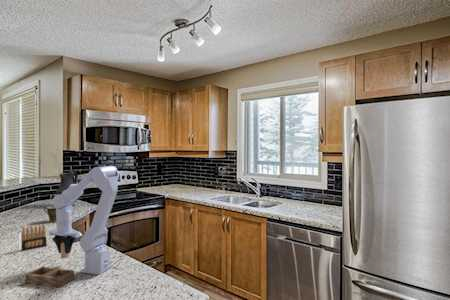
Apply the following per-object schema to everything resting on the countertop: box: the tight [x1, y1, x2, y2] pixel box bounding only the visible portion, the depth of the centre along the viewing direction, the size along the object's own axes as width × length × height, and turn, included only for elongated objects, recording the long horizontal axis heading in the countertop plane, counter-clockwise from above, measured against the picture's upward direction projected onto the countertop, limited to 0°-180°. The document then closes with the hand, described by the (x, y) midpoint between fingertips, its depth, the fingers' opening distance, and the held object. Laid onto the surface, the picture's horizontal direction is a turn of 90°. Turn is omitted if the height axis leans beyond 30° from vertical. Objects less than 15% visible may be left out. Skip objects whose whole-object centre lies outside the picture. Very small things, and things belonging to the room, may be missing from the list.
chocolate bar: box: [73, 230, 85, 243], centre depth 169 cm, size 9×1×18 cm
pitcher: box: [55, 170, 79, 207], centre depth 256 cm, size 17×21×30 cm
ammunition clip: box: [21, 222, 47, 252], centre depth 151 cm, size 11×2×12 cm, turn 130°
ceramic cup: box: [43, 205, 57, 224], centre depth 204 cm, size 13×10×10 cm
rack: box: [24, 266, 76, 288], centre depth 115 cm, size 16×8×3 cm, turn 75°
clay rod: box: [60, 243, 70, 259], centre depth 130 cm, size 3×3×6 cm
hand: (64, 252), depth 130 cm, fingers closed on clay rod, 3 cm apart
